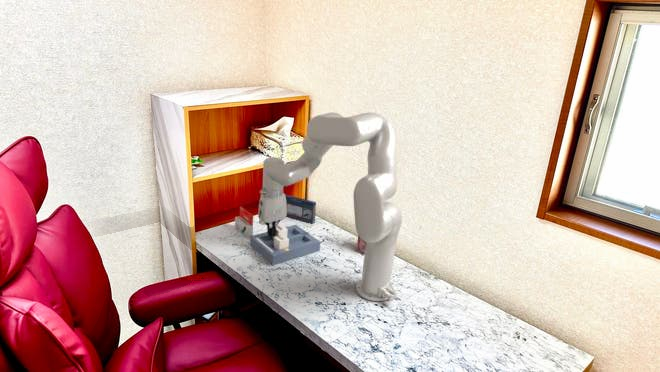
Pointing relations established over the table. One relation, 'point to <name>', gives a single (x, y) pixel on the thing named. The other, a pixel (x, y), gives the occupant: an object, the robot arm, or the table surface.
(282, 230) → the tab
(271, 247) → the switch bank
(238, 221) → the ink box
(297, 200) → the vhs cassette tape
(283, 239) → the tab
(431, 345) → the table surface
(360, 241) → the soda can
